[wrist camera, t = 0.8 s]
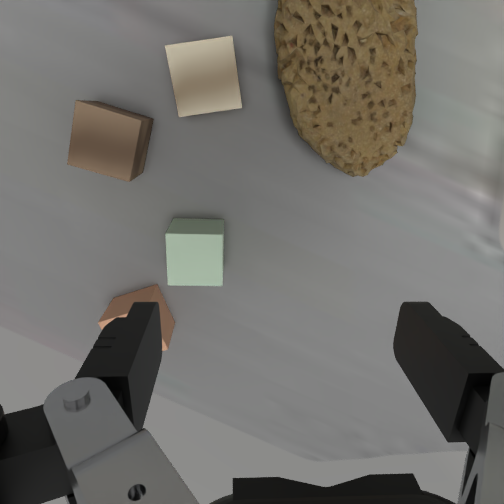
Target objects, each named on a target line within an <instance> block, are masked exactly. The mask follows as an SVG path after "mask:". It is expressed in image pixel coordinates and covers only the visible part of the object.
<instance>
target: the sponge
mask: <svg viewBox="0 0 504 504" xmlns="http://www.w3.org/2000/svg"><path fill="white" fill-rule="evenodd" d="M274 29H275V31H274V37H275V44H276V53H277V54H278V59H277V63H278V79H281V82H282V85H283V86H284V90H285V94H286V98H287V102H288V105H289V108H290V116H291V118H292V120H293V124H294V126H295V127H296V128H297V129H298V133H299V136H300V137H301V138H302V139H303V140H304V141H306V142H307V143H308V144H309V145H310V146H311V148H312V149H313V150H314V151H315V152H316V153H317V154H318V155H320V156H321V157H322V158H323V159H324V160H325V161H326V163H330V164H332V165H333V166H334V167H335V168H337V169H339V170H341V171H343V172H344V173H346V174H348V175H350V176H352V177H354V176H357V175H359V176H362V177H363V176H366V175H368V173H369V172H370V170H372V169H374V168H376V167H378V166H381V165H383V163H384V162H385V161H386V160H388V159H390V158H392V157H393V156H394V155H395V154H396V153H397V146H398V145H399V146H403V145H404V144H405V141H406V138H407V134H408V132H409V129H410V127H411V125H412V120H413V115H412V111H413V108H414V104H415V97H416V92H415V79H414V78H415V74H416V73H415V64H416V61H417V60H416V50H415V37H416V36H417V34H418V30H417V19H416V7H415V4H414V0H278V9H277V12H276V17H275V23H274Z"/></svg>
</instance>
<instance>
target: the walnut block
mask: <svg viewBox="0 0 504 504" xmlns="http://www.w3.org/2000/svg"><path fill="white" fill-rule="evenodd" d="M153 120H154V119H152V118H149V117H146V116H143V115H140V114H136V113H133V112H130V111H127V110H124V109H121V108H117V107H114V106H111V105H108V104H105V103H101V102H98V101H81V100H76V102H75V110H74V117H73V125H72V132H71V140H70V147H69V154H68V162H67V164H68V165H72V166H75V167H79V168H82V169H86V170H89V171H93V172H96V173H100V174H103V175H107V176H110V177H114V178H117V179H121V180H124V181H128V182H130V181H131V180H133V179H134V178H136V177H137V176H138V175H140V174H141V173H143V169H144V164H145V159H146V154H147V149H148V144H149V140H150V135H151V130H152V125H153Z"/></svg>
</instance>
